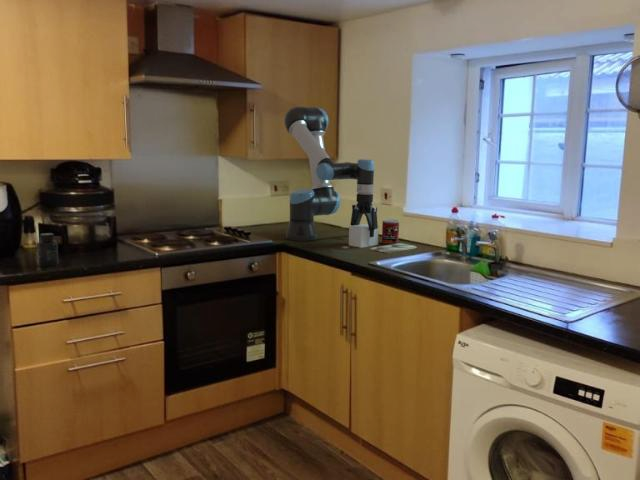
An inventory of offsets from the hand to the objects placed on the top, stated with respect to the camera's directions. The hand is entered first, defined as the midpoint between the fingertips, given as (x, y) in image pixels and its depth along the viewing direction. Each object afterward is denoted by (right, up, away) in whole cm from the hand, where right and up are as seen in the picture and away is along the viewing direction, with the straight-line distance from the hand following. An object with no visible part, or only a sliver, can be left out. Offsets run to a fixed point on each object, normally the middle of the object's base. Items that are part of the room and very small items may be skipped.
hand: (363, 242), depth 283 cm
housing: (0, -1, 0) cm, 1 cm away
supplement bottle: (-122, -9, -53) cm, 133 cm away
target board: (+13, -3, -8) cm, 16 cm away
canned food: (+13, -1, +5) cm, 14 cm away
